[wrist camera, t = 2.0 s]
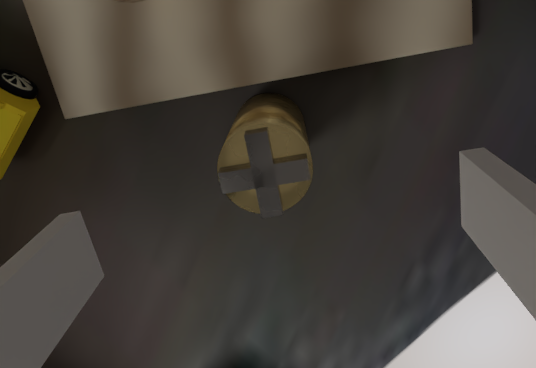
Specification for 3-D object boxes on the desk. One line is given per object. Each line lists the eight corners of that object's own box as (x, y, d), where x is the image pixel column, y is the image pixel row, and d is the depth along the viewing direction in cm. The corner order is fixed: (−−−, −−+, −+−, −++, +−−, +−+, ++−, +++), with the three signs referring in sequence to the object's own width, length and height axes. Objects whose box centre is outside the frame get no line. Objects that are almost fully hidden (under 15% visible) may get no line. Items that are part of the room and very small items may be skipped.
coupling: (242, 166, 29) (226, 228, 20) (228, 99, 27) (204, 137, 19) (309, 155, 28) (320, 213, 20) (298, 86, 27) (305, 119, 18)
